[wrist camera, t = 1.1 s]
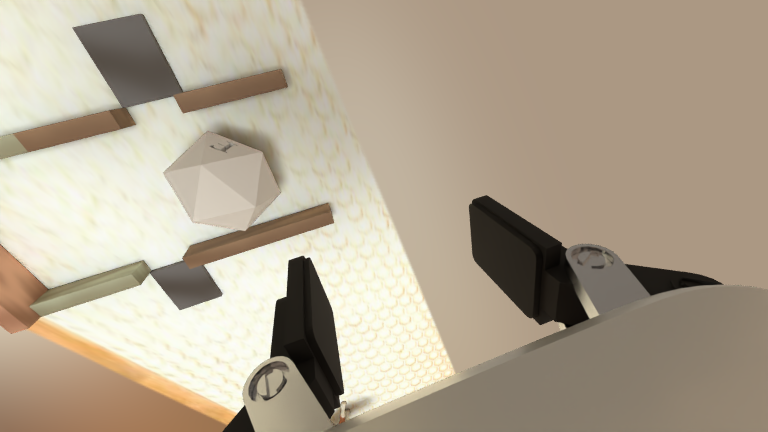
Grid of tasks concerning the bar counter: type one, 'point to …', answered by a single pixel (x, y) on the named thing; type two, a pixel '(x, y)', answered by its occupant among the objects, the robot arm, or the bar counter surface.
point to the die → (222, 182)
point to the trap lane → (131, 87)
